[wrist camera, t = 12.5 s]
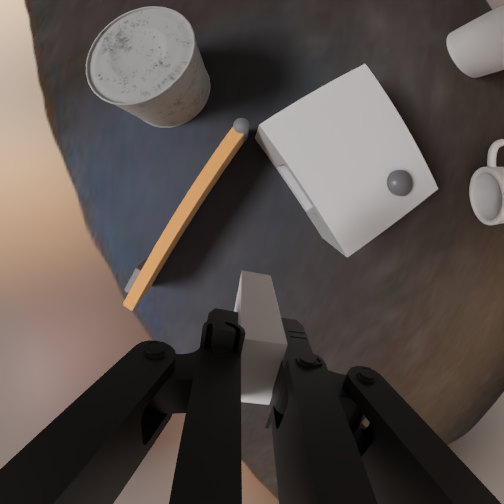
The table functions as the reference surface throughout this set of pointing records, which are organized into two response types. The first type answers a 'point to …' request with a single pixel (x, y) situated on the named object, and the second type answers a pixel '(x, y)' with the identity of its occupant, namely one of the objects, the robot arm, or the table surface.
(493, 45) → the cup
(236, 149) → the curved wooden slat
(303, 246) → the table surface
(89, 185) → the table surface
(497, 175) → the mug
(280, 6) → the table surface
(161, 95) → the grey mottled cylinder
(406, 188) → the knobbed white cabinet
